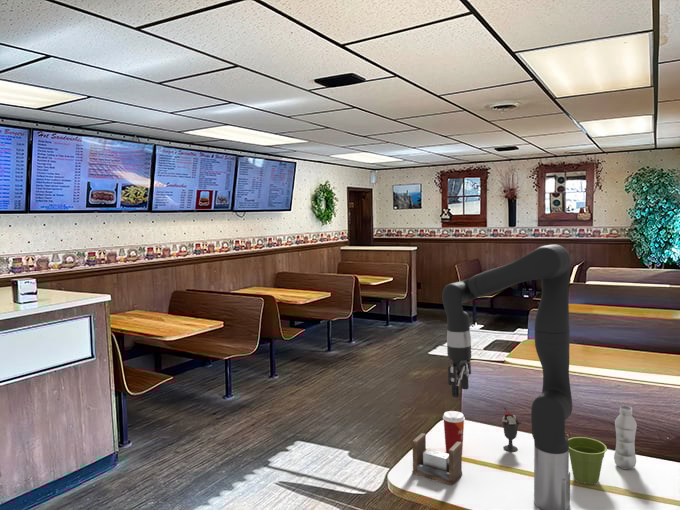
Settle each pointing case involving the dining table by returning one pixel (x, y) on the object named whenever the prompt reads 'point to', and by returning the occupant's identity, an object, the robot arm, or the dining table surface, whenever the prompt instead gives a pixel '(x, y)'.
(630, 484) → the dining table surface
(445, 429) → the paper cup
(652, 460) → the dining table surface
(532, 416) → the robot arm
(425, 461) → the metal block
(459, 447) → the wooden holder
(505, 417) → the sundae
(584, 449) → the plant pot
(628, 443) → the plastic bottle
